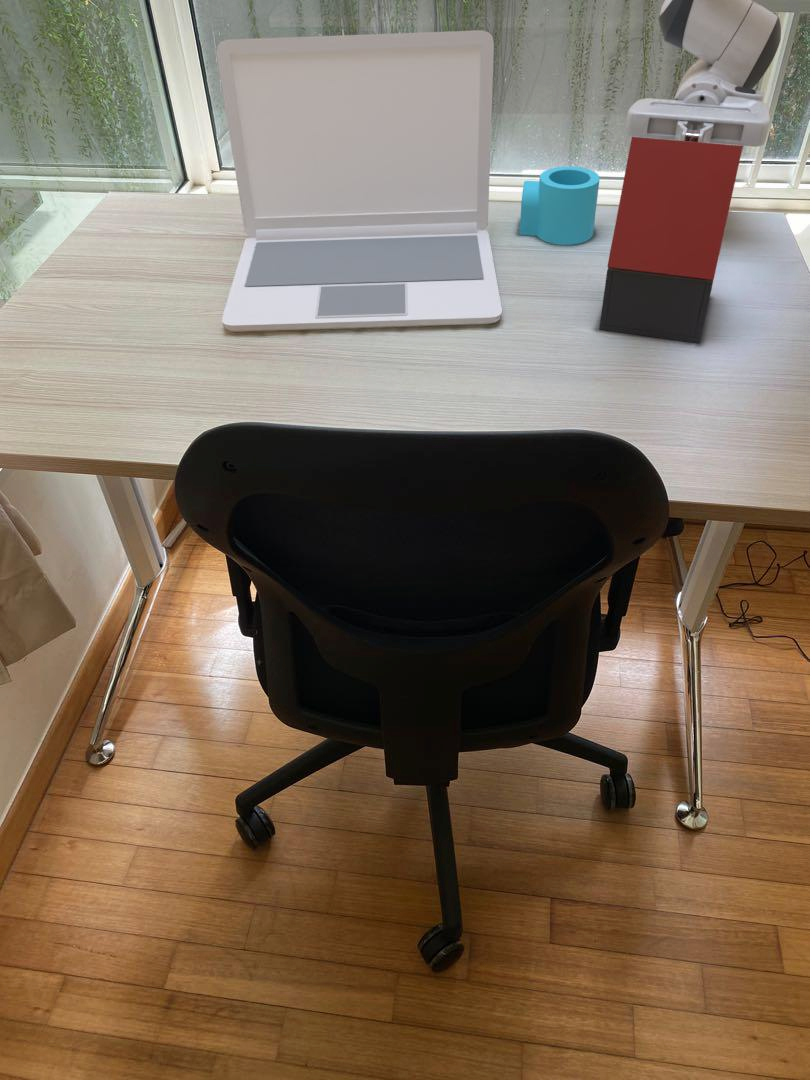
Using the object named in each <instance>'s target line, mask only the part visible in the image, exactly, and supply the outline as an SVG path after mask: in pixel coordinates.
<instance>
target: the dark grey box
mask: <svg viewBox="0 0 810 1080" xmlns="http://www.w3.org/2000/svg"><path fill="white" fill-rule="evenodd" d="M605 275H606V277H605V284H604V290H603V299H602V307H601V314H600V321H599V327H598V329H599V330H601V331H609V332H617V333H623V334H630V335H638V336H644V337H651V338H659V339H665V340H672V341H680V342H688V343H695V344H700V342H701V337H702V333H703V329H704V325H705V324H704V323H705V320H706V316H707V311H708V308H709V307H708V306H709V303H710V302H709V301H710V298H711V292H712V289H713V285H714V280H706V279H698V278H690V277H682V276H673V275H665V274H657V273H649V272H640V271H632V270H624V269H616V268H608V267H607V270H606V274H605Z"/></svg>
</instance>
